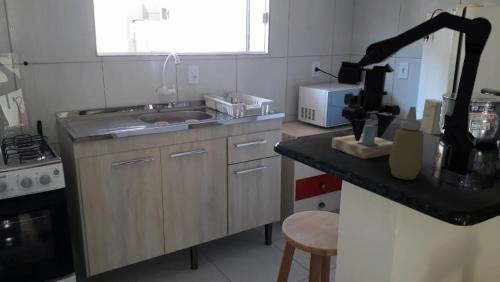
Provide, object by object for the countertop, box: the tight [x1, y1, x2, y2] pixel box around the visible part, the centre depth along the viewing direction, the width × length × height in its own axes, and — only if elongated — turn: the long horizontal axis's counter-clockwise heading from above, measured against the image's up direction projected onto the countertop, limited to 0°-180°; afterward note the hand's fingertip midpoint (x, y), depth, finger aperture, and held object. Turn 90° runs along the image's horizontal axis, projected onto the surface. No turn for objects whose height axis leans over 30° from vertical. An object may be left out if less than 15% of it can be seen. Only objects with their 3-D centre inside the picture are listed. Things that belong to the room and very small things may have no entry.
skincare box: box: [419, 98, 443, 136], centre depth 153 cm, size 6×4×12 cm
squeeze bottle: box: [388, 106, 424, 181], centre depth 104 cm, size 8×8×18 cm
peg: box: [362, 124, 377, 147], centre depth 124 cm, size 4×4×8 cm
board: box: [331, 133, 393, 160], centre depth 129 cm, size 14×14×3 cm
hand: (368, 139), depth 124 cm, fingers open, 9 cm apart
